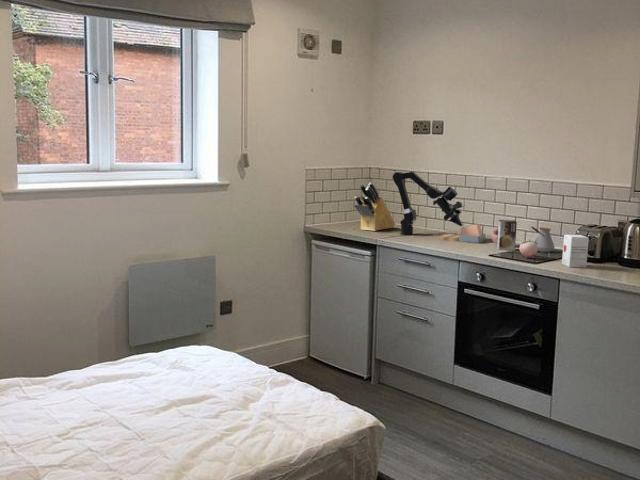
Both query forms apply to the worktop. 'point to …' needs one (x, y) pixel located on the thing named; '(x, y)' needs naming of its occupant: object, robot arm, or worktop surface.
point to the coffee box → (506, 235)
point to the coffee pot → (544, 240)
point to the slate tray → (471, 238)
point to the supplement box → (575, 250)
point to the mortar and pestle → (495, 235)
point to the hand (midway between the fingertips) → (461, 225)
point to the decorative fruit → (528, 248)
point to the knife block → (373, 210)
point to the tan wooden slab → (449, 237)
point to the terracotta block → (472, 230)
